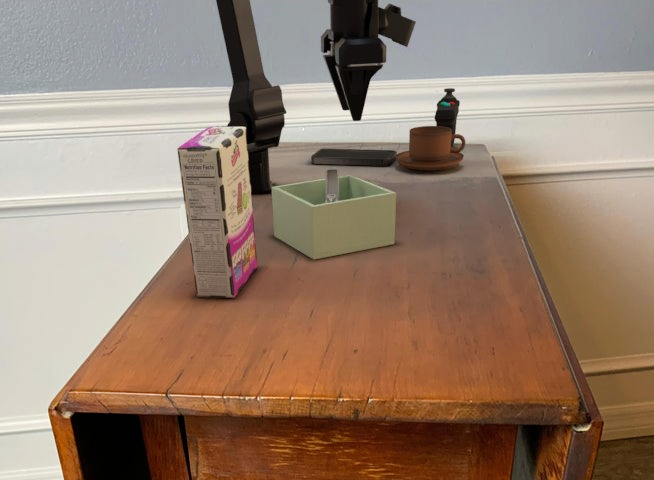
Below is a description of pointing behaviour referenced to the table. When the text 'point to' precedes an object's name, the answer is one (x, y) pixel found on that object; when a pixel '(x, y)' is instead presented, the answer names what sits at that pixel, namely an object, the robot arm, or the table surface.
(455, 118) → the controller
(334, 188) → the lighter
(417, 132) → the cup and saucer
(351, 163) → the phone
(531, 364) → the table surface
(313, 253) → the open square storage bin
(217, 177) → the candy bar box
